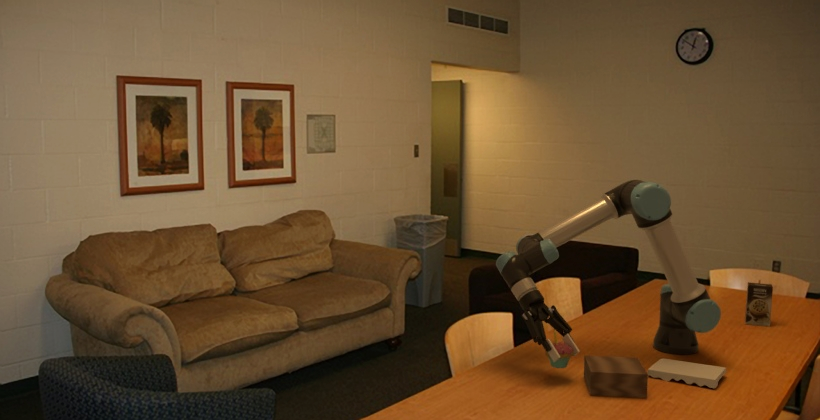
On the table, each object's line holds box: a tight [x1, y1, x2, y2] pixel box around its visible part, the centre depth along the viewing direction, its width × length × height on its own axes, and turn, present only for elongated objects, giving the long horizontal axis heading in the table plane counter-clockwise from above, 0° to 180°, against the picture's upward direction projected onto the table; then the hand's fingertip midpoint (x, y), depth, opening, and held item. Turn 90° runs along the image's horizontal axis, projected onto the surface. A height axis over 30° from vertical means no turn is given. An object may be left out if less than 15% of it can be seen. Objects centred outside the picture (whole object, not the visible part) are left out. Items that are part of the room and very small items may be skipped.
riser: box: [583, 355, 649, 399], centre depth 225 cm, size 16×16×7 cm
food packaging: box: [647, 358, 727, 389], centre depth 235 cm, size 15×3×20 cm
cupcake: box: [544, 328, 574, 369], centre depth 230 cm, size 9×8×12 cm
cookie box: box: [744, 282, 774, 327], centre depth 300 cm, size 9×6×16 cm
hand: (567, 356), depth 227 cm, fingers closed on cupcake, 8 cm apart
